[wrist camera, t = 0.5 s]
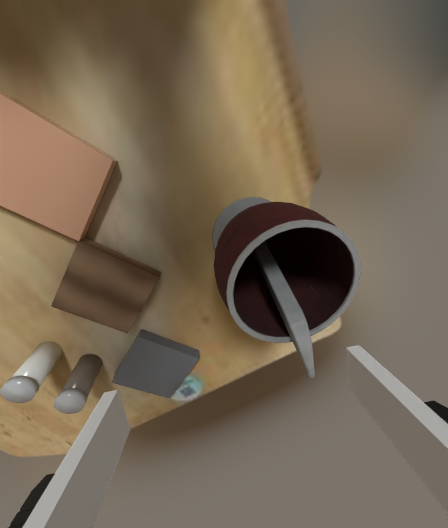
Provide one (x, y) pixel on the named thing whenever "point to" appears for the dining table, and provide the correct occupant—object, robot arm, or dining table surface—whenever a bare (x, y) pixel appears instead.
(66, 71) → the dining table surface
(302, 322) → the mate gourd
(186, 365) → the slate coaster
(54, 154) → the terracotta coaster
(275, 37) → the dining table surface
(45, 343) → the salt shaker
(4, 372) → the dining table surface
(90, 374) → the pepper shaker
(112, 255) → the walnut coaster
